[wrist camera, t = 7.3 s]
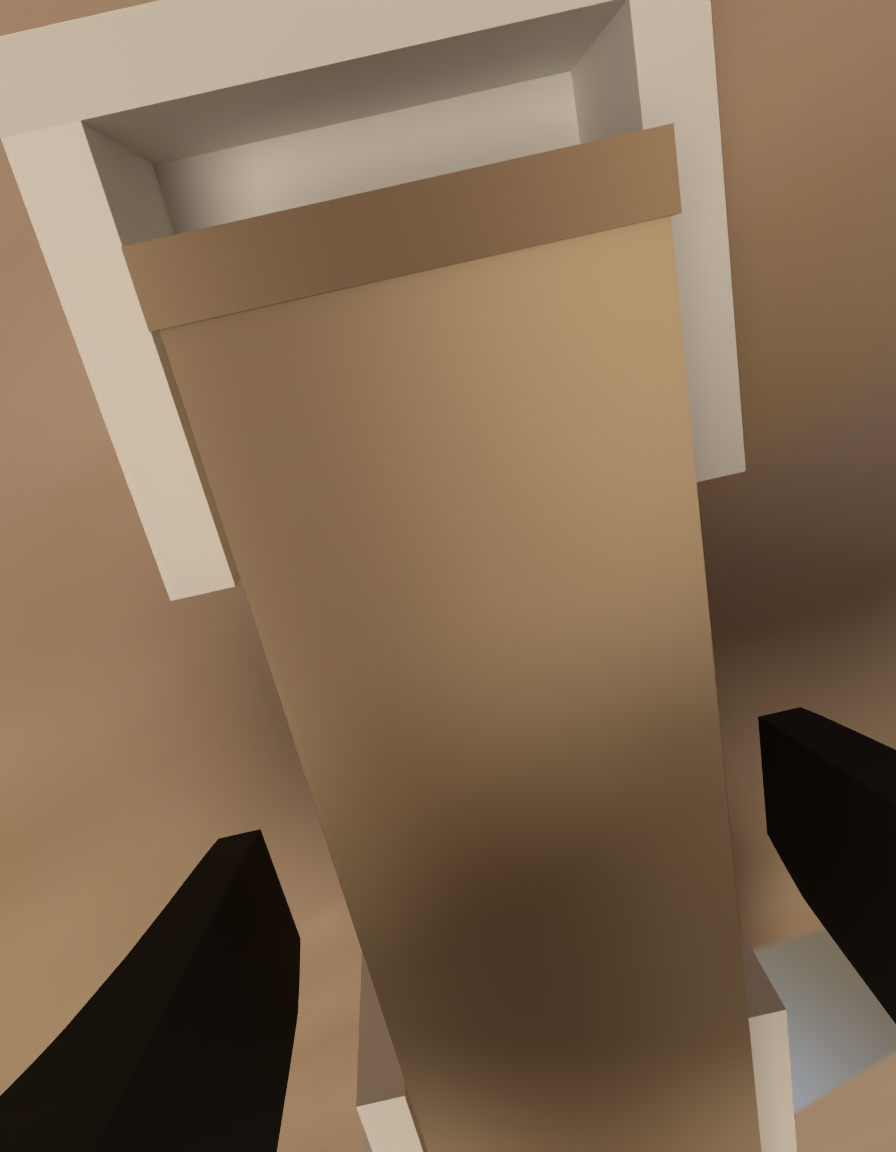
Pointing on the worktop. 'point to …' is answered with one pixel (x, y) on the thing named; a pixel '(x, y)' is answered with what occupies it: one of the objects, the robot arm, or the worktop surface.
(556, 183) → the oak rail
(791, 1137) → the cup bracket
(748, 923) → the worktop surface
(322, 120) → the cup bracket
